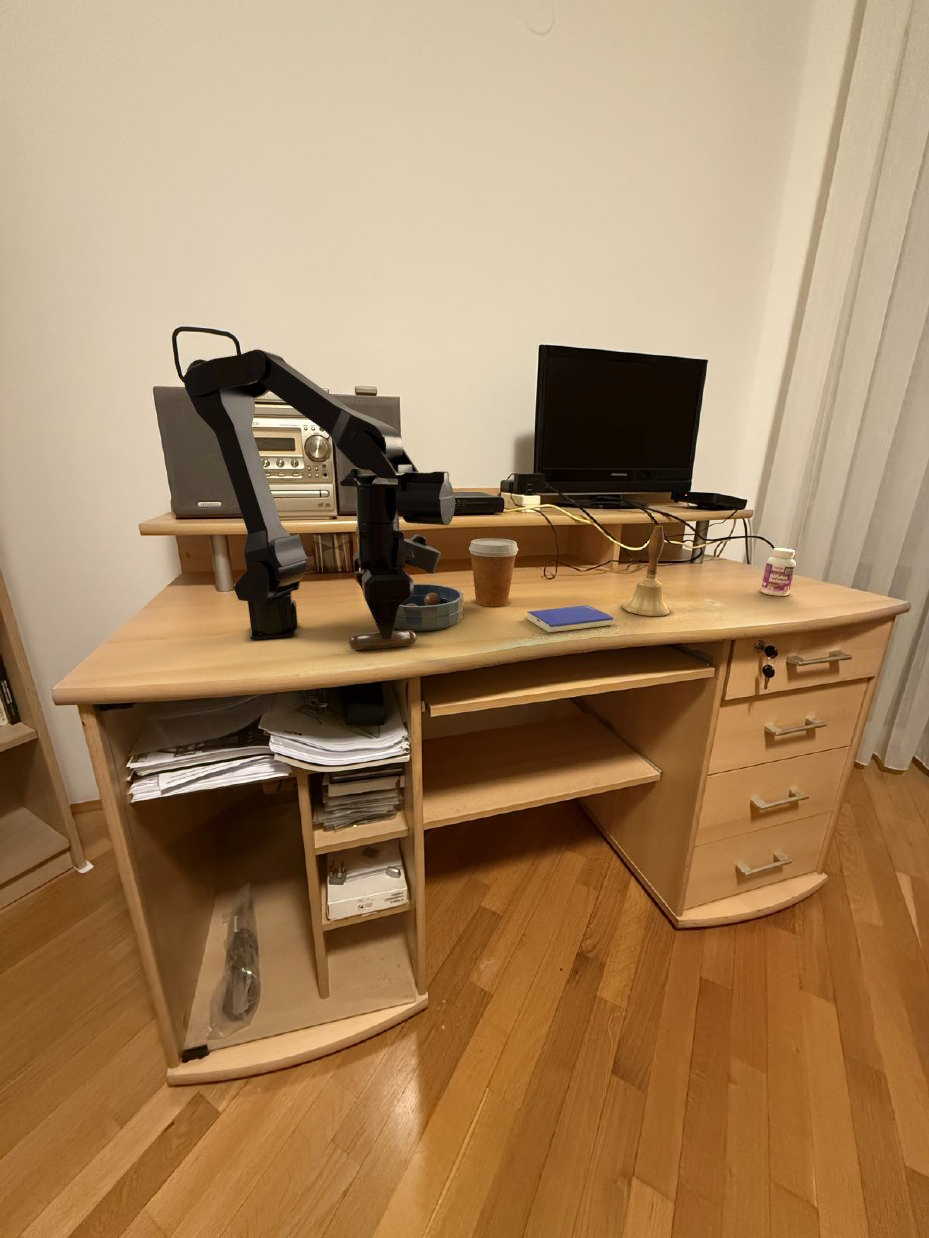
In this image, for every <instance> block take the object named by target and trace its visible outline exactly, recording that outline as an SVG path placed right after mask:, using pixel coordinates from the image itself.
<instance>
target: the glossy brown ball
mask: <svg viewBox="0 0 929 1238" xmlns="http://www.w3.org/2000/svg"><path fill="white" fill-rule="evenodd" d="M440 602H441V600H440V597H439V595H437V594H436V593H429V594H427V595H426V596H425V598H424V604H425V606H432V605H440Z"/></svg>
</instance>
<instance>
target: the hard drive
mask: <svg viewBox="0 0 929 1238" xmlns="http://www.w3.org/2000/svg"><path fill="white" fill-rule="evenodd" d="M526 618H527V620H528V621H530V622H532V623H533V624H535V625H537V626H538V627H540V628H541V629H543V630H544V631H546V632H548V633H554V632H556V633H557V632H564V631H573V630H579V629H588V628H597V627H604V626H612V625H614V617H613V616H612V615H610V614H608V613H606V612H604V611H602V610H599V609H597V608H595V607H593V606H590V605H588V604H585V605H577V606H576V605H574V606H567V607H557V608H548V609H540V610H529V611H527V612H526Z"/></svg>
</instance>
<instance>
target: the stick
mask: <svg viewBox="0 0 929 1238" xmlns="http://www.w3.org/2000/svg"><path fill="white" fill-rule="evenodd" d="M417 638H418V637H417V633H416V631H412V630H393V632H392V636H391V639H389V640H383V638H382V636H381V634H380V632H379V631H377V632H364V633H356V634H352V635H350V637H349V639H348V646H349V647H350V649H351V650H353V651H368V650H378V649H388V648H400V647H409V646H413V645H414V644H415V643H416V642H417V640H418V639H417Z"/></svg>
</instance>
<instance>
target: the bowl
mask: <svg viewBox="0 0 929 1238" xmlns="http://www.w3.org/2000/svg"><path fill="white" fill-rule="evenodd" d="M429 593H436V594H437V595H439V597H440V600H441V602H440V605H432V606H425V604H424V598H425V596H426V595H427V594H429ZM411 603H412V604H416V605H417V606H406V605H407V604H411ZM463 617H464V593H463V592H462V591H461V590H460V589H457V588H454V587H452V586H447V585H442V584H434V583H414V595H411V597H410V598H409V599H408V600H405V601H404V602H403V603H402V604H400V606H399V608H398V611H397V615H396V619H395V624H394V628H393V630H397V631H400V630H412V631H413V632H433V631H438V630H443V629H446V628H449V627H451V626H453V625H454V624H456V623H458V622H460V621H461V620H462V619H463Z"/></svg>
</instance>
